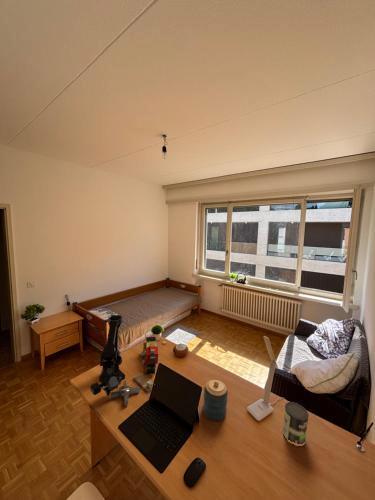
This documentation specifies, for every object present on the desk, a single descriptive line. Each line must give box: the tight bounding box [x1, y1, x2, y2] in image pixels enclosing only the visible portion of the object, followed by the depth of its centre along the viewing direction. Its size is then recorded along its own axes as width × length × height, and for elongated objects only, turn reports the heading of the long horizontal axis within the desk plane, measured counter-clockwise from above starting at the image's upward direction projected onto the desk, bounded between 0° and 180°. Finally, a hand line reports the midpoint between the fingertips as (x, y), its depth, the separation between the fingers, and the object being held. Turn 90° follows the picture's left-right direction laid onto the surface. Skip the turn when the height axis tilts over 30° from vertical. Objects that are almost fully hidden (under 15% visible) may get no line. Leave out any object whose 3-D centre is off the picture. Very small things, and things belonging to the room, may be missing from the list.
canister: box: [202, 379, 229, 422], centre depth 114 cm, size 13×13×18 cm
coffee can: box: [282, 401, 310, 444], centre depth 102 cm, size 10×10×14 cm
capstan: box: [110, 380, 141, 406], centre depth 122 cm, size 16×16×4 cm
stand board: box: [133, 372, 154, 394], centre depth 132 cm, size 16×6×4 cm, turn 47°
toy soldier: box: [140, 336, 159, 377], centre depth 152 cm, size 14×12×30 cm
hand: (108, 395), depth 120 cm, fingers closed
